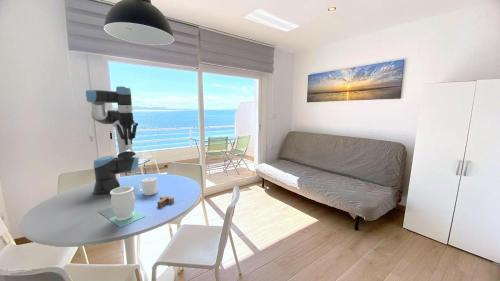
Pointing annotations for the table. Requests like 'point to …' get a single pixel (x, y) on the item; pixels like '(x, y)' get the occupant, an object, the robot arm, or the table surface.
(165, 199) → the t block
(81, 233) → the table surface
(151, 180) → the mug
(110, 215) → the mat
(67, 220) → the table surface
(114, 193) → the jar
